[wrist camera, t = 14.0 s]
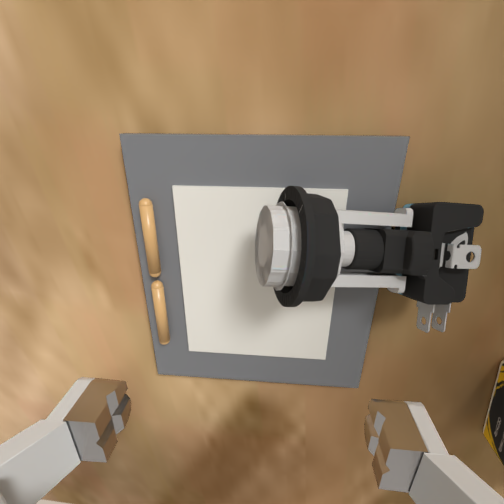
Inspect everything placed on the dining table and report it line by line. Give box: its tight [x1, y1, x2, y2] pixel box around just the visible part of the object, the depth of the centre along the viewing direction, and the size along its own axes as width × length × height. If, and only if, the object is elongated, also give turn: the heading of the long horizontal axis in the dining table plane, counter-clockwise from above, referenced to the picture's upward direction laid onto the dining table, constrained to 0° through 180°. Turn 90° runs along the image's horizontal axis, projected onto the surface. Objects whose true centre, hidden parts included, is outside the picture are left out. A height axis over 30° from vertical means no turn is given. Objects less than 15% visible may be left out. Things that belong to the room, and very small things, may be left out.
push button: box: [255, 186, 484, 333], centre depth 14 cm, size 7×5×10 cm
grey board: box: [120, 133, 410, 388], centre depth 18 cm, size 14×16×1 cm
